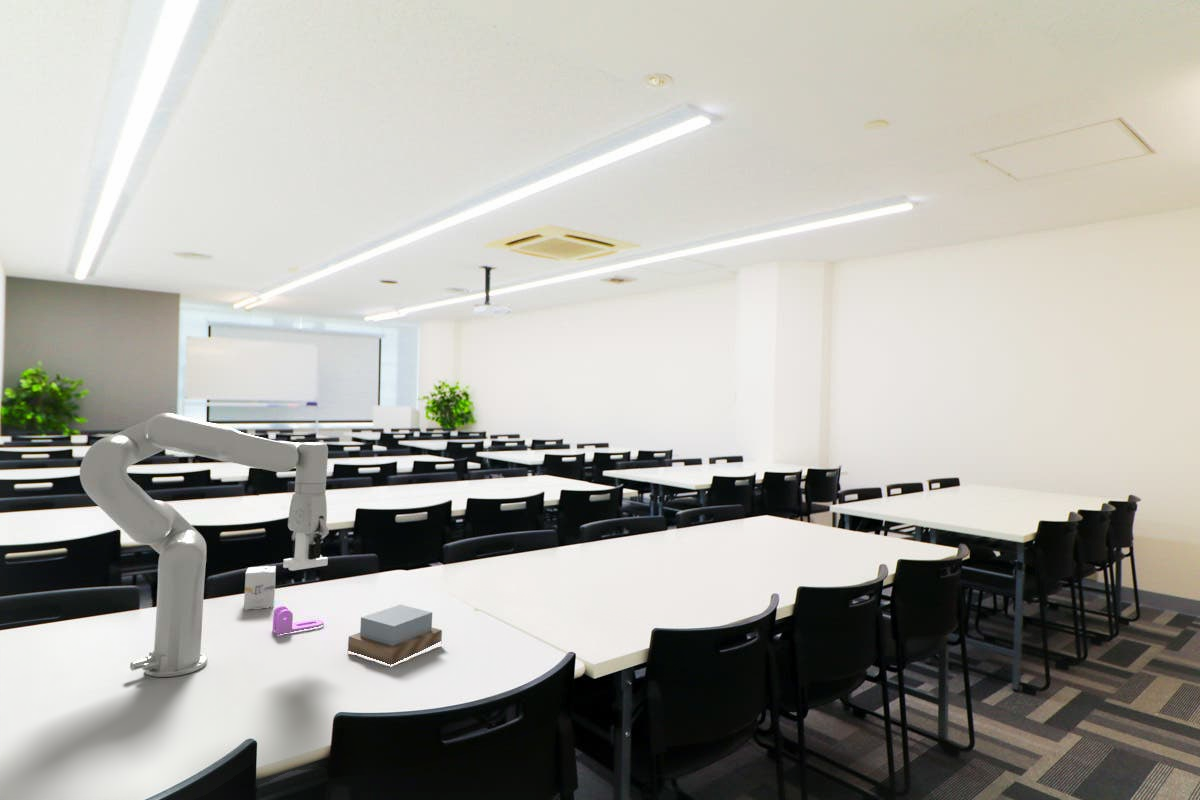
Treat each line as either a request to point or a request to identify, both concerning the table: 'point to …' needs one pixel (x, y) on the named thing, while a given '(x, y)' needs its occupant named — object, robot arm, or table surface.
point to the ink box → (259, 587)
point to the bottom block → (393, 652)
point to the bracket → (290, 622)
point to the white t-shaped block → (303, 555)
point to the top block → (396, 624)
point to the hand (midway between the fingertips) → (306, 556)
